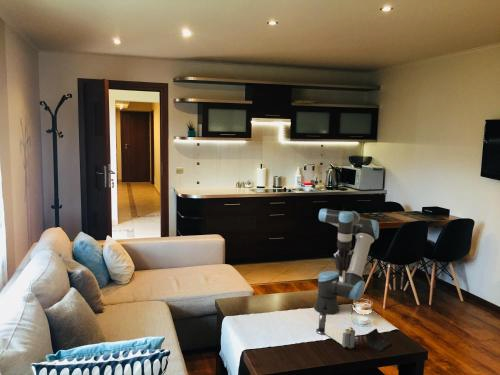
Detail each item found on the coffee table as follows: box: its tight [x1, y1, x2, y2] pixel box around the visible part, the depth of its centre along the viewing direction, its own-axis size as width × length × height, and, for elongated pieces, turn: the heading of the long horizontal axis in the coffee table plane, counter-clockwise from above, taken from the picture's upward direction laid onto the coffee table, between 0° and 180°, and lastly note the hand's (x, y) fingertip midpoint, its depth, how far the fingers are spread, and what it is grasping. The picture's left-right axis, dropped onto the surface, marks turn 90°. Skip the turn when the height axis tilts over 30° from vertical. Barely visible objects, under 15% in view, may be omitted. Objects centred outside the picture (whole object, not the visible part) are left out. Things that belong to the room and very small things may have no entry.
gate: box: [325, 321, 350, 348], centre depth 215 cm, size 3×15×7 cm, turn 31°
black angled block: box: [364, 328, 392, 353], centre depth 214 cm, size 12×7×10 cm
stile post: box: [344, 326, 356, 349], centre depth 210 cm, size 3×4×10 cm
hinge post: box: [315, 313, 327, 336], centre depth 224 cm, size 6×6×10 cm
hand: (341, 281), depth 228 cm, fingers closed
